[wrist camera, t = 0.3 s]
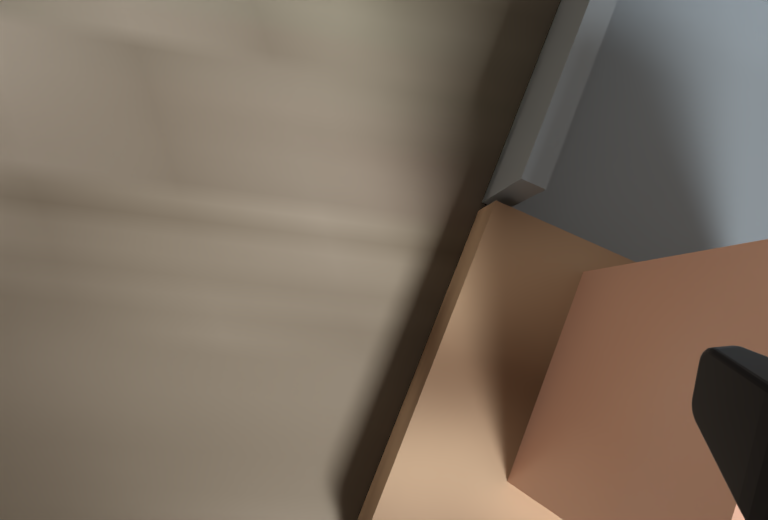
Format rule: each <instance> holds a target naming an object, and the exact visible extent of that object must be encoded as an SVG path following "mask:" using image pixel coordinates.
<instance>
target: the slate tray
mask: <svg viewBox="0 0 768 520" xmlns="http://www.w3.org/2000/svg"><path fill="white" fill-rule="evenodd" d="M496 200H497V201H499V202H501V203H503V204H506V205H508V206H510V207H513V208H515V209H517V210H519V211H522V212H524V213H526V214H528V215H531V216H533V217H535V218H537V219H540V220H542V221H544V222H546V223H549V224H551V225H553V226H555V227H558V228H560V229H562V230H564V231H567V232H569V233H571V234H573V235H576V236H578V237H580V238H582V239H585V240H587V241H589V242H591V243H594V244H596V245H598V246H600V247H603V248H605V249H607V250H610V251H612V252H614V253H616V254H619V255H621V256H623V257H625V258H628V259H630V260H632V261H634V262H641V261H647V260H652V259H658V258H664V257H669V256H675V255H681V254H686V253H692V252H698V251H703V250H709V249H714V248H720V247H726V246H731V245H737V244H743V243H748V242H754V241H759V240H765V239H768V0H561V2H560V4H559V7H558V10H557V12H556V15H555V17H554V20H553V22H552V25H551V27H550V30H549V33H548V35H547V38H546V40H545V43H544V45H543V48H542V50H541V53H540V55H539V58H538V61H537V63H536V66H535V68H534V71H533V73H532V76H531V78H530V81H529V84H528V86H527V89H526V91H525V94H524V96H523V99H522V101H521V104H520V106H519V109H518V112H517V114H516V117H515V119H514V122H513V124H512V127H511V129H510V132H509V135H508V137H507V140H506V142H505V145H504V147H503V150H502V152H501V155H500V157H499V160H498V163H497V165H496V168H495V170H494V173H493V175H492V178H491V180H490V183H489V186H488V188H487V191H486V193H485V196H484V198H483V201H482V203H484V204H486V205H489V204H491V203H493V202H494V201H496Z"/></svg>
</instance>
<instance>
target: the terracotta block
mask: <svg viewBox="0 0 768 520" xmlns="http://www.w3.org/2000/svg"><path fill="white" fill-rule="evenodd" d="M732 345H735V346H741V347H743V348H746V349H749V350H751V351H754V352H756V353H759V354H762V355H764V356H767V357H768V239H765V240H759V241H754V242H748V243H743V244H737V245H731V246H726V247H720V248H714V249H709V250H703V251H698V252H692V253H686V254H681V255H675V256H669V257H664V258H658V259H652V260H647V261H641V262H636V263H630V264H624V265H619V266H613V267H607V268H602V269H596V270H590V271H585V272H583V274H582V277H581V280H580V282H579V285H578V288H577V291H576V293H575V296H574V299H573V302H572V304H571V307H570V310H569V313H568V315H567V318H566V321H565V324H564V326H563V329H562V332H561V335H560V337H559V340H558V343H557V346H556V348H555V351H554V354H553V357H552V359H551V362H550V365H549V368H548V370H547V373H546V376H545V379H544V381H543V384H542V387H541V390H540V392H539V395H538V398H537V401H536V403H535V406H534V409H533V412H532V414H531V417H530V420H529V423H528V425H527V428H526V431H525V434H524V436H523V439H522V442H521V445H520V447H519V450H518V453H517V456H516V458H515V461H514V464H513V467H512V469H511V472H510V475H509V478H508V480H507V482H509V483H510V484H512V485H513V486H515V487H516V488H517V489H519V490H520V491H522V492H523V493H525V494H526V495H528V496H529V497H531V498H532V499H533V500H535V501H536V502H538V503H539V504H541V505H542V506H544V507H545V508H547V509H548V510H550V511H551V512H552V513H554V514H555V515H557V516H558V517H560V518H561V519H563V520H745V519H744V517H743V515H742V513H741V511H740V510H739V508H738V506H737V504H736V502H735V500H734V498H733V496H732V494H731V492H730V490H729V488H728V486H727V484H726V482H725V480H724V478H723V476H722V474H721V472H720V470H719V468H718V466H717V464H716V462H715V460H714V458H713V456H712V454H711V452H710V450H709V448H708V446H707V444H706V442H705V440H704V438H703V436H702V434H701V432H700V430H699V428H698V426H697V424H696V422H695V419H694V416H693V413H692V396H693V391H694V386H695V380H696V375H697V370H698V365H699V360H700V356H701V354H702V353H703V351H705V350H706V349H707V348H711V347H721V346H732Z"/></svg>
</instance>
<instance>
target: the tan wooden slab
mask: <svg viewBox="0 0 768 520" xmlns="http://www.w3.org/2000/svg"><path fill="white" fill-rule="evenodd" d="M630 263H636V262H634V261H632V260H630V259H628V258H625V257H623V256H621V255H619V254H616V253H614V252H612V251H610V250H607V249H605V248H603V247H600V246H598V245H596V244H594V243H591V242H589V241H587V240H585V239H582V238H580V237H578V236H576V235H573V234H571V233H569V232H567V231H564V230H562V229H560V228H558V227H555V226H553V225H551V224H549V223H546V222H544V221H542V220H540V219H537V218H535V217H533V216H531V215H528V214H526V213H524V212H522V211H519V210H517V209H515V208H513V207H510V206H508V205H506V204H503V203H501V202H499V201H497V200H496V201H494V202H493V203H491V204H489V205H487V206H486V207H484V208H482V209H480V210H479V211H478V213H477V216H476V218H475V221H474V224H473V226H472V229H471V231H470V234H469V236H468V239H467V241H466V244H465V247H464V249H463V252H462V254H461V257H460V259H459V262H458V264H457V267H456V269H455V272H454V275H453V277H452V280H451V282H450V285H449V287H448V290H447V292H446V295H445V298H444V300H443V303H442V305H441V308H440V310H439V313H438V315H437V318H436V320H435V323H434V326H433V328H432V331H431V333H430V336H429V338H428V341H427V343H426V346H425V349H424V351H423V354H422V356H421V359H420V361H419V364H418V366H417V369H416V371H415V374H414V377H413V379H412V382H411V384H410V387H409V389H408V392H407V394H406V397H405V400H404V402H403V405H402V407H401V410H400V412H399V415H398V417H397V420H396V422H395V425H394V428H393V430H392V433H391V435H390V438H389V440H388V443H387V445H386V448H385V450H384V453H383V456H382V458H381V461H380V463H379V466H378V468H377V471H376V473H375V476H374V479H373V481H372V484H371V486H370V489H369V491H368V494H367V496H366V499H365V501H364V504H363V507H362V509H361V512H360V514H359V517H358V519H357V520H563V519H561V518H560V517H558V516H557V515H555V514H554V513H552V512H551V511H550V510H548V509H547V508H545V507H544V506H542V505H541V504H539V503H538V502H536V501H535V500H533V499H532V498H531V497H529V496H528V495H526V494H525V493H523V492H522V491H520V490H519V489H517V488H516V487H515V486H513V485H512V484H510V483H509V482H507V480H508V478H509V475H510V472H511V469H512V467H513V464H514V461H515V458H516V456H517V453H518V450H519V447H520V445H521V442H522V439H523V436H524V434H525V431H526V428H527V425H528V423H529V420H530V417H531V414H532V412H533V409H534V406H535V403H536V401H537V398H538V395H539V392H540V390H541V387H542V384H543V381H544V379H545V376H546V373H547V370H548V368H549V365H550V362H551V359H552V357H553V354H554V351H555V348H556V346H557V343H558V340H559V337H560V335H561V332H562V329H563V326H564V324H565V321H566V318H567V315H568V313H569V310H570V307H571V304H572V302H573V299H574V296H575V293H576V291H577V288H578V285H579V282H580V280H581V277H582V274H583V272H585V271H590V270H596V269H602V268H607V267H613V266H619V265H624V264H630Z"/></svg>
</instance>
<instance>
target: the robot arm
mask: <svg viewBox="0 0 768 520" xmlns="http://www.w3.org/2000/svg"><path fill="white" fill-rule="evenodd" d="M692 413H693V416H694V419H695V422H696V424H697V426H698V428H699V430H700V432H701V434H702V436H703V438H704V440H705V442H706V444H707V446H708V448H709V450H710V452H711V454H712V456H713V458H714V460H715V462H716V464H717V466H718V468H719V470H720V472H721V474H722V476H723V478H724V480H725V482H726V484H727V486H728V488H729V490H730V492H731V494H732V496H733V498H734V500H735V502H736V504H737V506H738V508H739V510H740V511H741V513H742V515H743V517H744V519H745V520H768V357H767V356H764V355H762V354H759V353H756V352H754V351H751V350H749V349H746V348H743V347H741V346H735V345H732V346H721V347H711V348H707V349H706V350H705V351H703V353H702V354H701V356H700V360H699V365H698V370H697V375H696V380H695V386H694V391H693V396H692Z"/></svg>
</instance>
